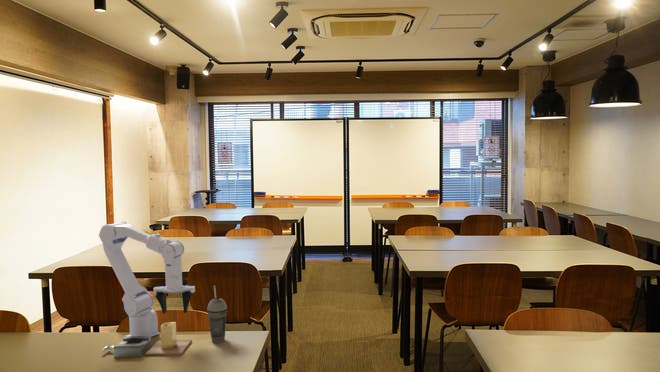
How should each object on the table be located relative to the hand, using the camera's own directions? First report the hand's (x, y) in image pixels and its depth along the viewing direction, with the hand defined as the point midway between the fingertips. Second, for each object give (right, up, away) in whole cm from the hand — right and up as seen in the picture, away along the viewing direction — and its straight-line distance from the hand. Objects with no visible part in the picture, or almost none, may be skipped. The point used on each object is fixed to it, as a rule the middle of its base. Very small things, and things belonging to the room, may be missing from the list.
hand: (175, 312), depth 172 cm
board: (0, -11, -7) cm, 13 cm away
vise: (-14, -11, -9) cm, 20 cm away
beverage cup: (+16, -10, -1) cm, 19 cm away
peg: (0, -10, -8) cm, 12 cm away
